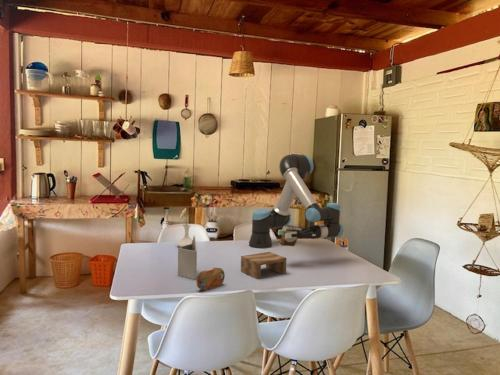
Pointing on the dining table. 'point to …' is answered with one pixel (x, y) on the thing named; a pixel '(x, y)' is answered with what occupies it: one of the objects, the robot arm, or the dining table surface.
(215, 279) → the tin
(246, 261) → the walnut shelf
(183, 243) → the flower in vase
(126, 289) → the dining table surface
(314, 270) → the dining table surface
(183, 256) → the planter
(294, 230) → the food container
